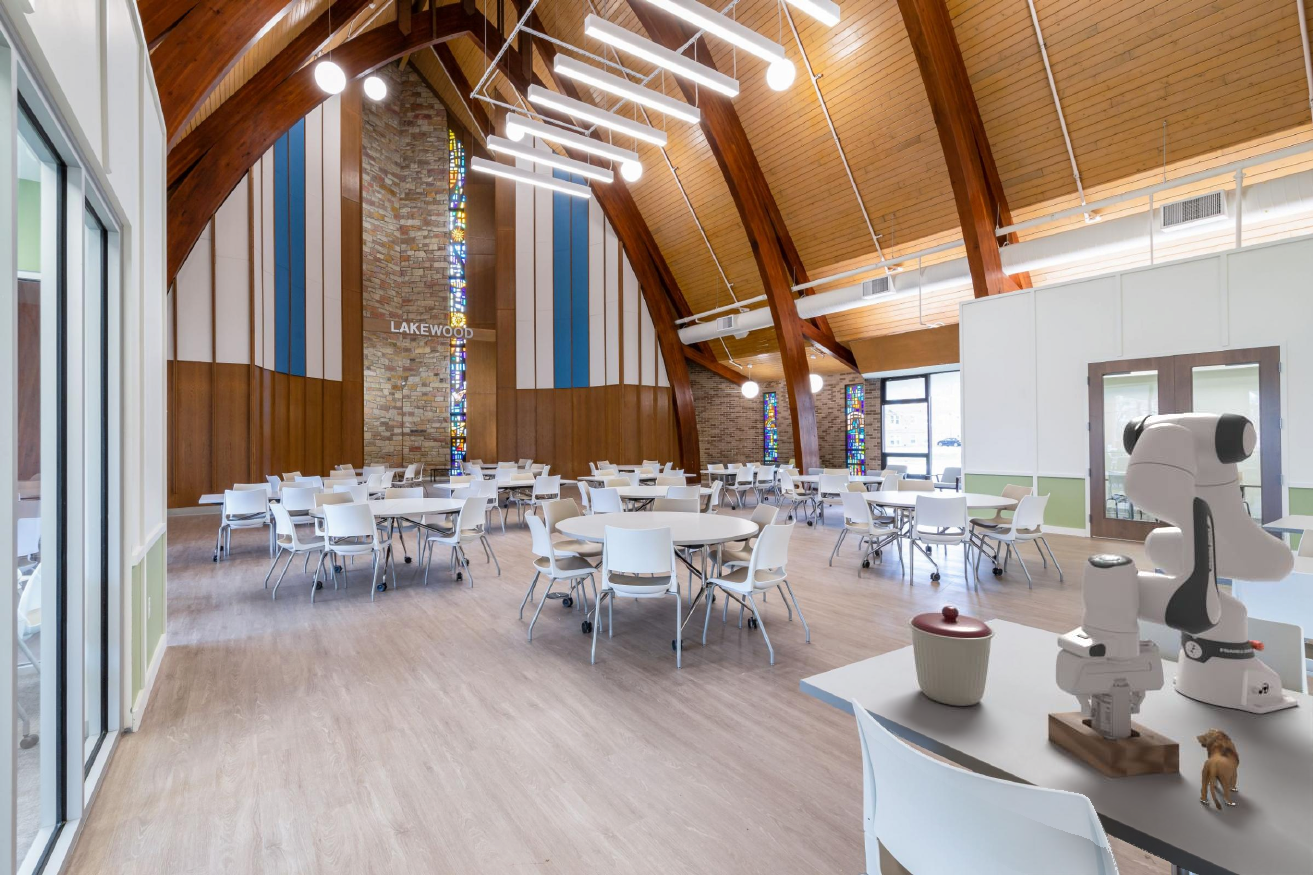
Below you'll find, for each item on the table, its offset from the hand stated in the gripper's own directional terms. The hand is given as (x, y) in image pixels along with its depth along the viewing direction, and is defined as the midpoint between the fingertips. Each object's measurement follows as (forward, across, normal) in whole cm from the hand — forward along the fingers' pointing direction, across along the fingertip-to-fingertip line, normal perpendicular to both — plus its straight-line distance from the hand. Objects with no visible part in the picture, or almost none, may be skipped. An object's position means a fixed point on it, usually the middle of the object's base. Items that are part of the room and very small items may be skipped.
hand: (1110, 714), depth 114 cm
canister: (+8, +14, -28) cm, 32 cm away
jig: (+8, 0, 0) cm, 8 cm away
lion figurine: (+8, -7, +13) cm, 17 cm away
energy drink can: (+8, 0, 0) cm, 8 cm away
